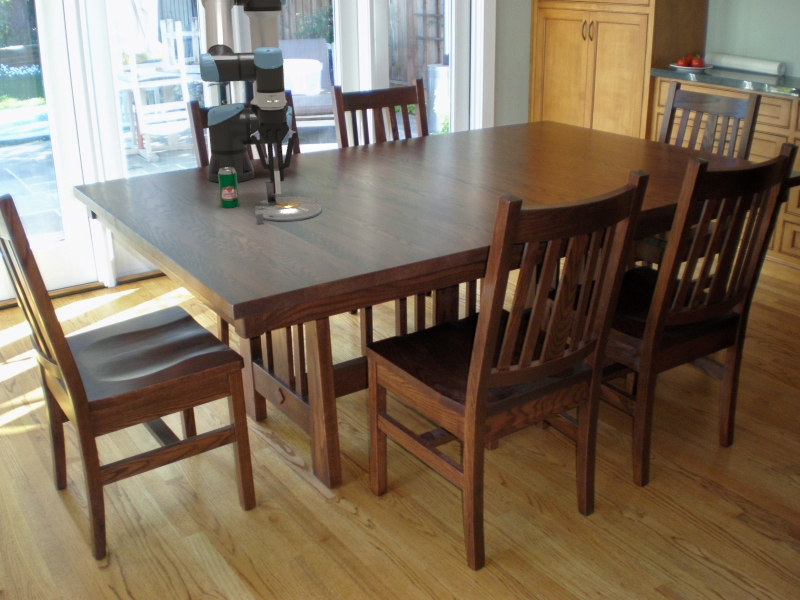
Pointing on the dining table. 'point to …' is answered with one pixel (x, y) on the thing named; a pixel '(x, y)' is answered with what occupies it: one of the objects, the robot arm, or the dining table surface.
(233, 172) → the soda can
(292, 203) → the turntable
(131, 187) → the dining table surface
